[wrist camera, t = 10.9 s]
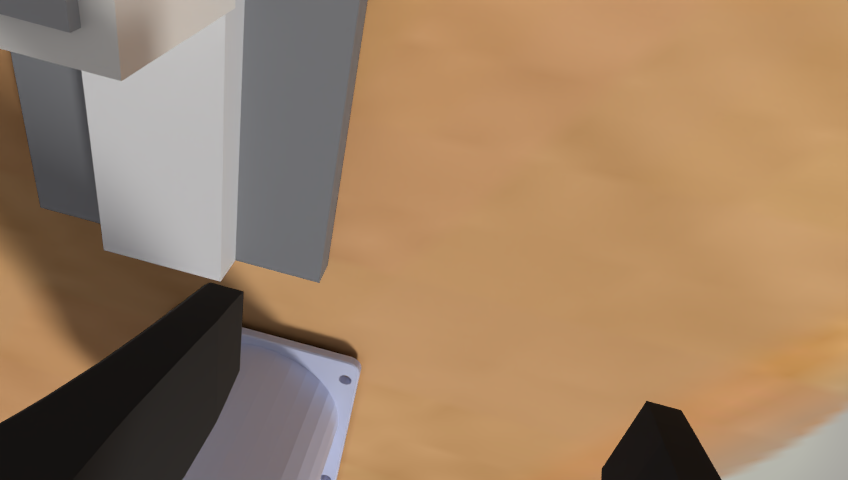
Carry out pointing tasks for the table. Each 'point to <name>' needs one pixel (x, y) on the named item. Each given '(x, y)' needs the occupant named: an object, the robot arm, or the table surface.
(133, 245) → the rail board
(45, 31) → the block
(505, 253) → the table surface
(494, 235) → the table surface
